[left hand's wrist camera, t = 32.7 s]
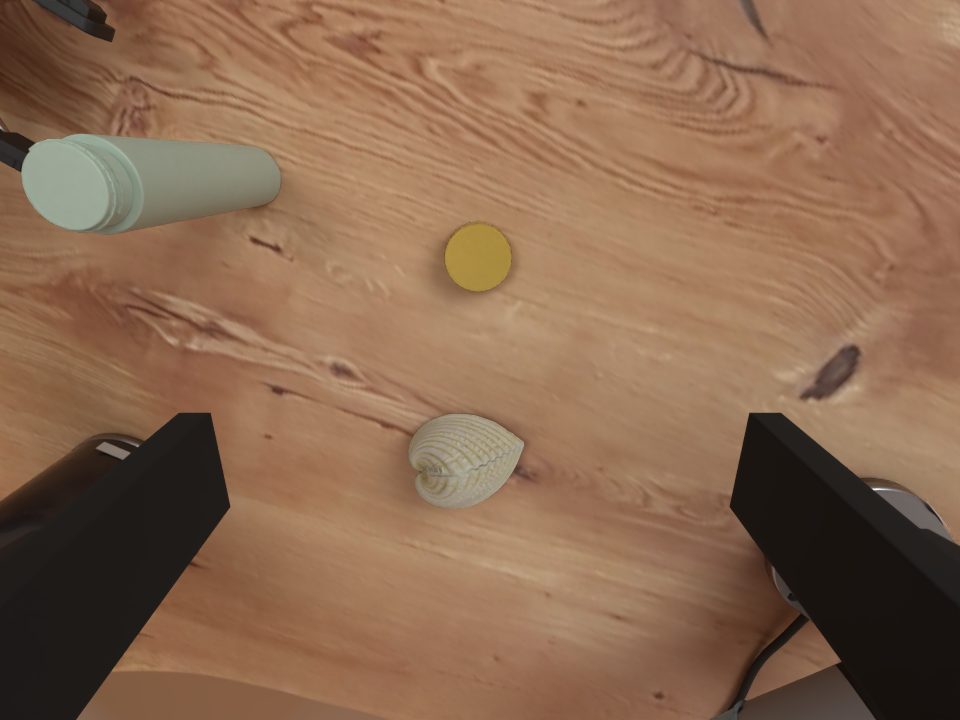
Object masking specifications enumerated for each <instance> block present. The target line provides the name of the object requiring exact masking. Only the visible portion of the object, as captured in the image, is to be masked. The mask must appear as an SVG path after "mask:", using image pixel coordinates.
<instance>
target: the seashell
mask: <svg viewBox="0 0 960 720" xmlns="http://www.w3.org/2000/svg"><path fill="white" fill-rule="evenodd" d="M523 447H524V442H523V441H522V440H520V439H519V438H518V437H516V436H515V435H514V434H513V433H511V432H509V431H507V430H506V429H505V428H503V427H502V426H500V425H499V424H497V423H495V422H493V421H491V420H488V419H485V418H482V417H479V416H476V415H470V414H449V415H444V416H440V417H437V418H435V419H432V420H431V421H429V422H427V423H426V424H424V425H423V426H422V427H421V428H420V429H419V430H418V431H417V432H416V433H415V435H414V436H413V438H412V440H411V442H410V444H409V449H408V458H409V462H410V464H411V466H412V467H413V468H414V469H416V470H418V471H420V473H419V474H418V475H417V477H416V479H415V487H416V490H417V492H418V494H419V495H420V496H421V498H423V499H424V500H425V501H426V502H428V503H429V504H431V505H434V506H436V507H440V508H447V509H459V508H464V507H469V506H472V505H475V504H477V503H479V502H481V501H483V500H485V499H487V498H488V497H490V496H491V495H492V494H493V493H495V492H496V491H497V490H498V489H499V488H500V487H501V486H502V485H503V484H504V483H505V482H506V480H507V479H508V478H509V476H510V475H511V473H512V472H513V470H514V468H515V466H516V464H517V462H518V460H519V458H520V455H521V452H522V450H523Z"/></svg>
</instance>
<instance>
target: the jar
mask: <svg viewBox="0 0 960 720" xmlns="http://www.w3.org/2000/svg"><path fill="white" fill-rule="evenodd" d="M29 151H30V152H29V153H28V154H27V156H26V157H25V159H24V162H23V165H22V171H21V177H22V184H23V188H24V191H25V193H26V195H27V197H28V199H29V201H30V203H31V204H32V205H33V207H34V208H35V209H36V210H37V211H38V213H39V214H40V215H42V216H43V217H44V218H45V219H47V220H48V221H49V222H51V223H53V224H54V225H57V226H59V227H61V228H64V229H67V230H71V231H75V232H93V233H97V234H104V235H111V234H118V233H123V232H128V231H133V230H138V229H144V228H149V227H154V226H159V225H164V224H169V223H174V222H179V221H184V220H189V219H195V218H200V217H205V216H210V215H215V214H220V213H225V212H230V211H235V210H241V209H246V208H251V207H256V206H261V205H265V204H267V203H269V202H271V201H272V200H273V199H274V198H275V197H276V196H277V194H278V192H279V190H280V186H281V175H280V171H279V168H278V166H277V164H276V162H275V161H274V159H273V158H272V157H271V156H270V155H269V154H268V153H267V152H265V151H264V150H262V149H260V148H257V147H254V146H245V145H231V144H217V143H204V142H190V141H176V140H162V139H149V138H135V137H121V136H107V135H94V134H74V135H70V136H67V137H65V138H63V139H46V140H43V141H40V142H37V143H35V144H34V145H33V146H32V147H30V148H29Z"/></svg>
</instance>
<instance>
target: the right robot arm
mask: <svg viewBox="0 0 960 720" xmlns="http://www.w3.org/2000/svg"><path fill="white" fill-rule="evenodd" d="M17 1H20V0H0V4H1V3H9V2H17ZM33 1H34V2H36V3H37V4H39V5H41V6H42V7H44V8H46V9H47V10H49V11H51V12H52V13H54V14H56V15H57V16H59V17H60V18H62V19H64V20H65V21H67V22H69V23H70V24H72V25H74V26H75V27H77V28H79V29H80V30H82V31H84V32H86V33H88V34H90V35H92V36H94V37H97V38H100V39H103V40H106V41H109V42H112V40H113V37H114V33H115V29H114V28H112V27H111V26H109V25H107V24H106V23H105V20H106V17H107V14H106V13H105V12H104V11H103V10H102V9H101V7H100V6H99V5H97V4H95V3H94V2H92V1H90V0H33ZM34 144H35V143H34V142H33V141H31V140H29V139H27V138H26V137H24V136H22V135H20V134H18V133H14V132H10V131H9V130H8V128H7V127H6V125H5V124H4V122H3V121H2V119H1V118H0V161H1V162H3V163H5V164H7V165H9V166H10V167H12V168H14V169H16V170H18V171H20V172H21V171H22V165H23V162H24V159H25V157H26V156H27V154H28V153H29V152H30V151H29V148H30V147H32V146H33V145H34ZM142 443H143V441H141V440H139V439H136V438H133V437H131V436H127V435H122V434H100V435H96V436H93V437H90V438H88V439H87V440H85V441H84V442H82V443H81V444H79V445H78V446H76V447H75V448H74V449H73V450H72V451H71V452H70V453H69V454H67V455H66V456H64V457H63V458H62V459H60V460H59V461H57V462H56V463H54V464H53V465H51V466H50V467H48V468H47V469H45V470H44V471H43V472H41V473H40V474H38V475H37V476H36V477H34V478H33V479H31V480H30V481H28V482H27V483H26V484H24V485H23V486H21V487H20V488H19V489H17V490H16V491H14V492H13V493H12V494H10V495H9V496H7V497H6V498H4V499H3V500H2V501H0V548H2V547H3V546H5V545H7V544H9V543H11V542H13V541H14V540H16V539H18V538H20V537H22V536H23V535H25V534H27V533H29V532H31V531H32V530H39V529H40V528H41V527H42V526H44V525H45V524H46V523H47V522H48V521H50V520H51V519H52V518H53V517H54V516H56V515H57V514H58V513H59V512H61V511H62V510H63V509H64V508H65V507H67V506H68V505H69V504H70V503H71V502H73V501H74V500H75V499H76V498H77V497H79V496H80V495H81V494H82V493H83V492H85V491H86V490H87V489H88V488H89V487H91V486H92V485H93V484H94V483H95V482H97V481H98V480H99V479H100V478H101V477H103V476H104V475H105V474H106V473H107V472H109V471H110V470H111V469H112V468H113V467H115V466H116V465H117V464H118V463H119V462H121V461H122V460H123V459H124V458H125V457H127V456H128V455H129V454H130V453H131V452H133V451H134V450H135V449H136V448H137V447H139V446H140V445H141V444H142Z"/></svg>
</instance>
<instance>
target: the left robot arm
mask: <svg viewBox="0 0 960 720" xmlns="http://www.w3.org/2000/svg"><path fill="white" fill-rule="evenodd" d="M925 499H926V498H925ZM927 502H928V501H927ZM928 503H929V502H928ZM929 505H930V503H929ZM929 505H928V504H927V503H926V502H924V501H923V500H922V499H920V498H919V497H918V496H916V495H915V494H914V493H913V492H911V491H910V490H909V489H907V488H905V487H904V486H902V485H899V484H897V483H895V482H891V481H888V480H883V479H876V478H859V477H857V476H856V475H855V474H854V473H853V472H851V471H850V470H849V469H848V468H847V467H845V466H844V465H843V464H842V463H841V462H839V461H838V460H837V459H836V458H835V457H833V456H832V455H831V454H830V453H829V452H827V451H826V450H825V449H824V448H823V447H821V446H820V445H819V444H818V443H817V442H815V441H814V440H813V439H812V438H811V437H809V436H808V435H807V434H806V433H805V432H803V431H802V430H801V429H800V428H798V427H797V426H796V425H795V424H794V423H792V422H791V421H790V420H789V419H788V418H786V417H785V416H784V415H783V414H782V413H749V417H748V422H747V427H746V432H745V436H744V441H743V446H742V451H741V455H740V460H739V465H738V470H737V474H736V479H735V484H734V488H733V493H732V498H731V503H730V508H731V509H732V511H733V512H734V514H735V515H736V516H737V518H738V519H739V520H740V522H741V523H742V525H743V526H744V527H745V529H746V530H747V531H748V533H749V534H750V536H751V537H752V538H753V540H754V541H755V543H756V544H757V545H758V547H759V548H760V549H761V551H762V552H763V554H764V555H765V566H766V570H767V573H768V575H769V577H770V579H771V581H772V582H773V584H774V585H775V587H776V588H777V589H778V591H779V592H780V594H781V595H782V596H783V598H784V599H785V600H786V601H787V602H788V603H789V604H790V605H791V606H793V607H794V608H795V609H796V610H798V611H799V612H801V614H800V615H799V616H798V617H797V618H796V619H795V620H794V621H793V623H792V624H791V625H790V626H789V627H788V628H787V629H786V630H785V631H784V632H783V633H782V634H781V635H779V636H778V637H777V638H776V639H775V640H774V641H773V642H772V643H771V644H769V645H768V646H767V647H766V648H765V649H764V650H763V651H762V652H761V653H760V654H759V656H758V657H757V658H756V660H755V661H754V662H753V664H752V666H751V667H750V669H749V671H748V673H747V675H746V677H745V679H744V681H743V683H742V686H741V688H740V690H739V692H738V694H737V696H736V698H735V700H734V701H733V703H732V705H731V706H730V707H729V709H728V710H727V711H726V712H724V713H722V714H720V715H718V716H716V717H714V718H712V719H710V720H960V546H959V545H957V544H955V542H954V541H953V539H952V538H951V536H950V535H949V533H948V532H947V531H946V529H945V528H944V526H943V524H942V522H943V523H944V524H945V525H946V523H945V522H944V521H943V519H942V518H941V517H940V516H939V514H938V513H937V512H936V511H935V510H934V508H933V507H932V506H931V505H930V506H931V507H930V506H929ZM229 508H230V503H229V498H228V493H227V488H226V484H225V479H224V474H223V470H222V465H221V460H220V455H219V451H218V446H217V441H216V436H215V432H214V427H213V422H212V417H211V413H178V414H177V415H176V416H175V417H174V418H172V419H171V420H170V421H169V422H168V423H166V424H165V425H164V426H163V427H162V428H160V429H159V430H158V431H157V432H155V433H154V434H153V435H152V436H151V437H149V438H148V439H147V440H146V441H145V442H143V443H142V444H141V445H140V446H139V447H137V448H136V449H135V450H134V451H133V452H131V453H130V454H129V455H128V456H127V457H125V458H124V459H123V460H122V461H121V462H119V463H118V464H117V465H116V466H115V467H113V468H112V469H111V470H110V471H109V472H107V473H106V474H105V475H104V476H103V477H101V478H100V479H99V480H98V481H97V482H95V483H94V484H93V485H92V486H91V487H89V488H88V489H87V490H86V491H85V492H83V493H82V494H81V495H80V496H79V497H77V498H76V499H75V500H74V501H73V502H71V503H70V504H69V505H68V506H67V507H65V508H64V509H63V510H62V511H61V512H59V513H58V514H57V515H56V516H54V517H53V518H52V519H51V520H50V521H48V522H47V523H46V524H45V525H44V526H42V527H41V528H40V529H39V530H32V531H31V532H29V533H27V534H25V535H23V536H22V537H20V538H18V539H16V540H14V541H13V542H11V543H9V544H7V545H5V546H3V547H2V548H0V720H76V719H77V718H78V716H79V715H80V713H81V712H82V711H83V709H84V708H85V707H86V705H87V704H88V702H89V701H90V700H91V698H92V697H93V696H94V694H95V693H96V691H97V690H98V689H99V687H100V686H101V685H102V683H103V682H104V680H105V679H106V678H107V676H108V675H109V674H110V672H111V671H112V669H113V668H114V667H115V665H116V664H117V662H118V661H119V660H120V658H121V657H122V656H123V654H124V653H125V651H126V650H127V649H128V647H129V646H130V645H131V643H132V642H133V640H134V639H135V638H136V636H137V635H138V634H139V632H140V631H141V629H142V628H143V627H144V625H145V624H146V622H147V621H148V620H149V618H150V617H151V616H152V614H153V613H154V611H155V610H156V609H157V607H158V606H159V605H160V603H161V602H162V600H163V599H164V598H165V596H166V595H167V594H168V592H169V591H170V589H171V588H172V587H173V585H174V584H175V582H176V581H177V580H178V578H179V577H180V576H181V574H182V573H183V571H184V570H185V569H186V567H187V566H188V565H189V563H190V562H191V560H192V559H193V558H194V556H195V555H196V554H197V552H198V551H199V549H200V548H201V547H202V545H203V544H204V543H205V541H206V540H207V538H208V537H209V536H210V534H211V533H212V531H213V530H214V529H215V527H216V526H217V525H218V523H219V522H220V520H221V519H222V518H223V516H224V515H225V514H226V512H227V511H228V509H229ZM937 515H938V516H937ZM939 518H940V519H941V520H942V522H941V520H940V519H939ZM946 526H947V525H946ZM947 528H948V526H947ZM948 529H949V528H948ZM809 619H810V620H811V621H812V622H814V624H815V625H816V627H817V628H818V629H819V631H820V632H821V634H822V635H823V636H824V638H825V639H826V640H827V642H828V643H829V645H830V646H831V647H832V649H833V650H834V651H835V653H836V654H837V656H838V657H839V658H840V660H841V661H842V662H840V663H838V664H835V665H833V666H830V667H828V668H826V669H823V670H821V671H819V672H816V673H814V674H812V675H809V676H807V677H805V678H802V679H800V680H797V681H795V682H792V683H790V684H787V685H785V686H782V687H780V688H777V689H775V690H773V691H770V692H768V693H765V694H763V695H760V696H758V697H755V698H753V699H750V700H748V701H746V700H744V699H745V697H746V695H747V693H748V691H749V689H750V686H751V684H752V682H753V680H754V678H755V676H756V675H757V673H758V671H759V670H760V668H761V667H762V666H763V664H764V663H765V662H766V661H767V659H768V658H769V657H770V656H771V655H772V654H773V653H775V652H776V651H777V650H778V649H779V648H780V647H782V646H783V645H784V644H785V643H786V642H787V641H788V640H789V639H790V638H791V637H792V636H793V635H794V634H795V633H796V632H797V631H798V630H799V629H800V628H801V627H802V626H803V625H804V624H805V623H806V622H807V621H808V620H809Z"/></svg>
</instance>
